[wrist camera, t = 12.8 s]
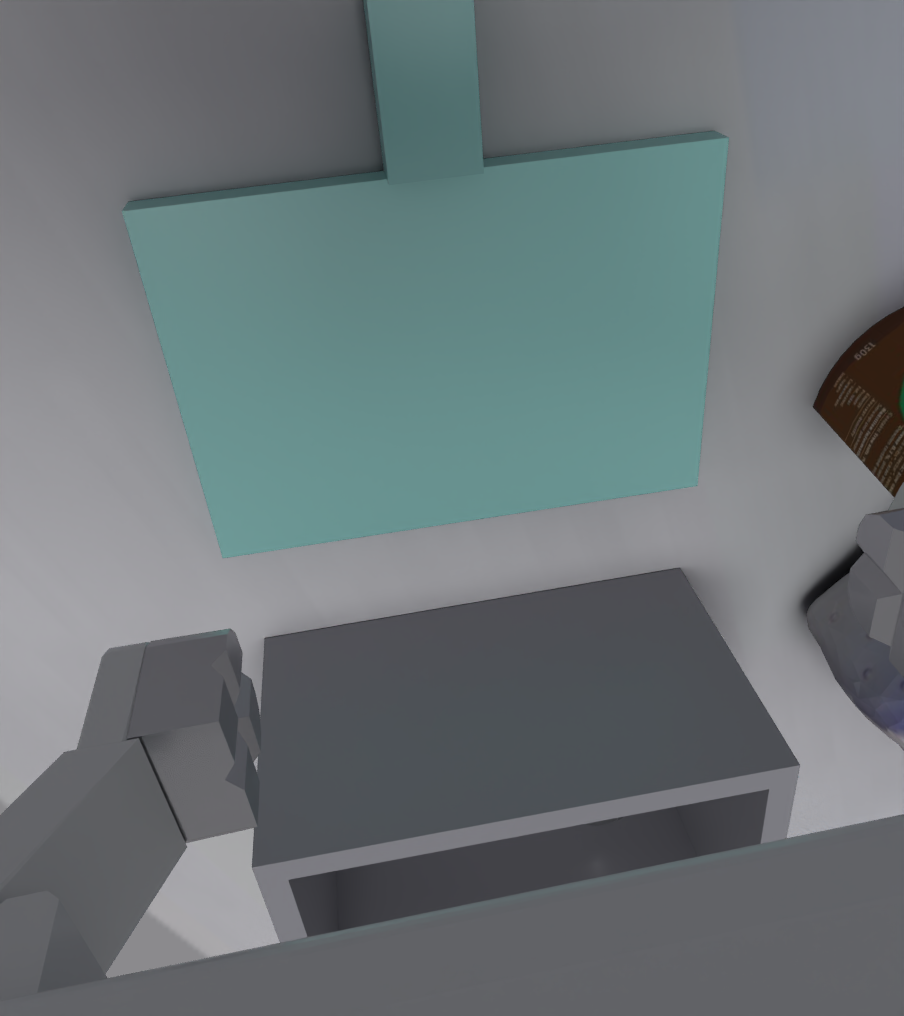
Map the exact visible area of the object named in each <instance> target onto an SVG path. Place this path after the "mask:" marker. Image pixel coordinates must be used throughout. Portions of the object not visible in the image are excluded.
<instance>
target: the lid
mask: <svg viewBox="0 0 904 1016" xmlns="http://www.w3.org/2000/svg"><path fill="white" fill-rule="evenodd" d="M363 4H364V12H365V20H366V28H367V37H368V45H369V53H370V61H371V70H372V78H373V86H374V94H375V103H376V111H377V119H378V127H379V135H380V144H381V152H382V160H383V168H384V171H378V172H369V173H361V174H353V175H345V176H336V177H328V178H320V179H312V180H303V181H295V182H287V183H278V184H270V185H262V186H254V187H245V188H237V189H229V190H221V191H212V192H204V193H196V194H188V195H179V196H171V197H163V198H155V199H146V200H138V201H130V202H128V203H127V204H126V206H125V207H124V209H123V211H122V213H123V217H124V220H125V224H126V227H127V231H128V234H129V237H130V241H131V244H132V248H133V251H134V255H135V258H136V261H137V265H138V268H139V272H140V275H141V279H142V282H143V286H144V289H145V292H146V296H147V299H148V303H149V306H150V310H151V313H152V316H153V320H154V323H155V327H156V330H157V334H158V337H159V340H160V344H161V347H162V351H163V354H164V358H165V361H166V365H167V368H168V371H169V375H170V378H171V382H172V385H173V389H174V392H175V395H176V399H177V402H178V406H179V409H180V413H181V416H182V420H183V423H184V426H185V430H186V433H187V437H188V440H189V444H190V447H191V450H192V454H193V457H194V461H195V464H196V468H197V471H198V474H199V478H200V481H201V485H202V488H203V492H204V495H205V499H206V502H207V505H208V509H209V512H210V516H211V519H212V523H213V526H214V529H215V533H216V536H217V540H218V543H219V547H220V550H221V553H222V557H223V558H228V557H234V556H241V555H247V554H254V553H260V552H267V551H274V550H280V549H287V548H293V547H300V546H306V545H313V544H320V543H326V542H333V541H339V540H346V539H352V538H359V537H366V536H372V535H379V534H385V533H392V532H398V531H405V530H411V529H418V528H425V527H431V526H438V525H444V524H451V523H457V522H464V521H471V520H477V519H484V518H490V517H497V516H503V515H510V514H516V513H523V512H530V511H536V510H543V509H549V508H556V507H562V506H569V505H576V504H582V503H589V502H595V501H602V500H608V499H615V498H622V497H628V496H635V495H641V494H648V493H654V492H661V491H667V490H674V489H681V488H687V487H694V486H697V484H698V473H699V462H700V451H701V440H702V429H703V418H704V407H705V396H706V385H707V374H708V363H709V352H710V340H711V329H712V318H713V307H714V296H715V285H716V274H717V263H718V252H719V241H720V230H721V219H722V208H723V197H724V186H725V175H726V164H727V153H728V142H729V137H727V136H725V135H722V134H720V133H718V132H716V131H708V132H700V133H692V134H683V135H675V136H667V137H659V138H650V139H642V140H634V141H626V142H617V143H609V144H601V145H592V146H584V147H576V148H568V149H559V150H551V151H543V152H535V153H526V154H518V155H510V156H502V157H493V158H485V159H483V149H482V132H481V115H480V98H479V81H478V65H477V48H476V31H475V14H474V0H363Z"/></svg>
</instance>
